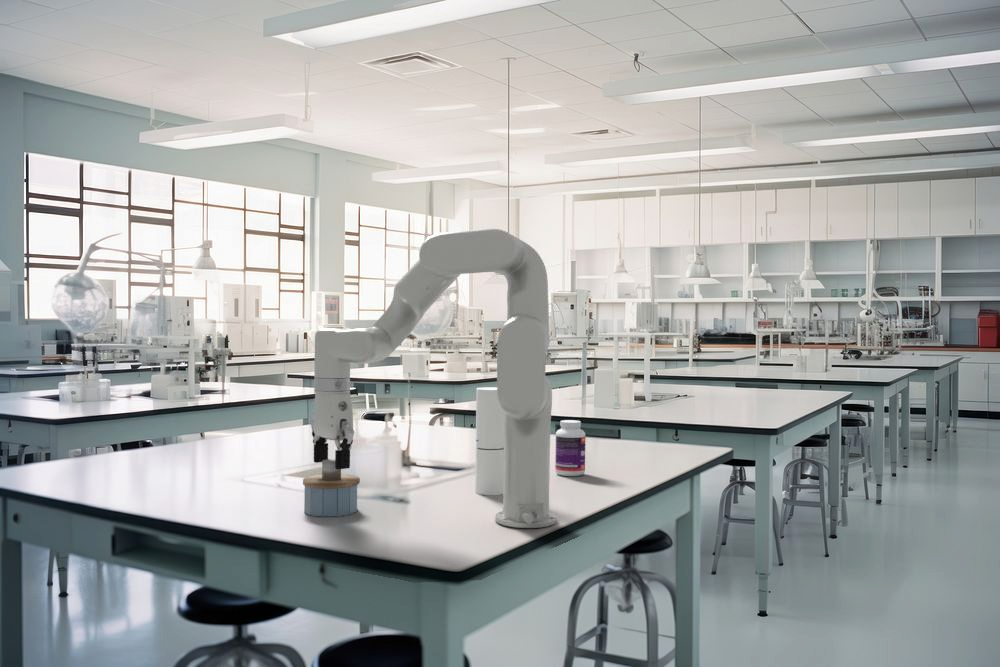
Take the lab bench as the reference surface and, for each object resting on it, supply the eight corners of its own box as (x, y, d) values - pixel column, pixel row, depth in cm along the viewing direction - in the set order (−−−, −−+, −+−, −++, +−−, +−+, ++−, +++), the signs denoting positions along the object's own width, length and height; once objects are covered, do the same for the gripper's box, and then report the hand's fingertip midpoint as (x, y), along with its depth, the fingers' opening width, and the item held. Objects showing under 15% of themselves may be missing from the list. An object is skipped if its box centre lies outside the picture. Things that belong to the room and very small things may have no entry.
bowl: (356, 516, 172) (357, 487, 172) (303, 517, 171) (303, 488, 170) (357, 504, 183) (357, 477, 183) (306, 505, 181) (306, 478, 181)
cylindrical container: (498, 488, 202) (499, 387, 202) (509, 494, 196) (510, 389, 195) (471, 490, 200) (472, 387, 199) (481, 496, 193) (482, 390, 193)
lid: (358, 488, 171) (358, 465, 171) (299, 489, 170) (299, 465, 170) (361, 477, 183) (361, 455, 183) (306, 477, 182) (306, 456, 182)
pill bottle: (586, 477, 218) (587, 423, 217) (556, 477, 218) (557, 423, 217) (583, 471, 226) (584, 419, 225) (554, 471, 226) (554, 419, 225)
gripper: (368, 388, 172) (367, 469, 172) (328, 382, 185) (328, 457, 186) (335, 389, 167) (335, 473, 168) (298, 383, 181) (297, 461, 181)
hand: (331, 465), depth 177 cm, fingers open, 9 cm apart
